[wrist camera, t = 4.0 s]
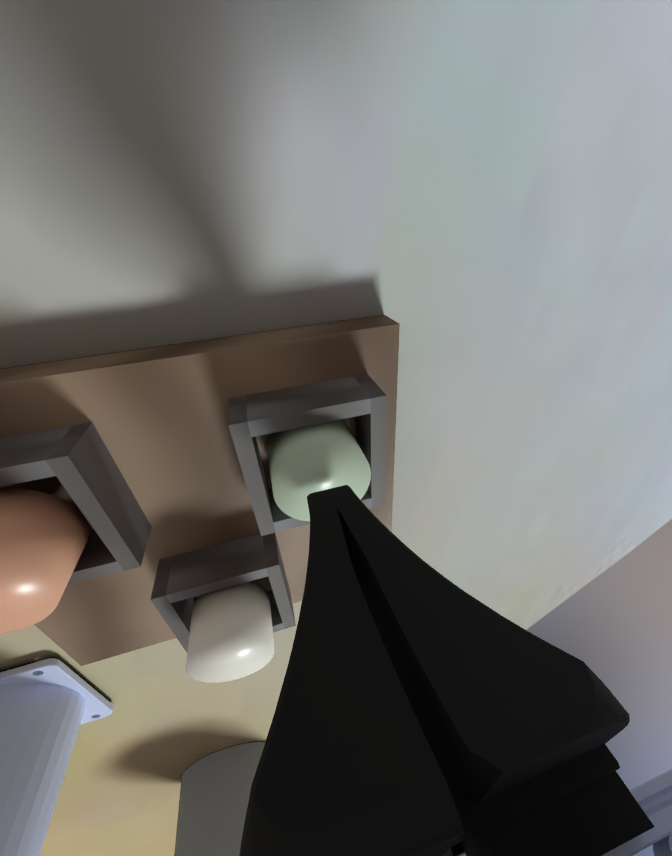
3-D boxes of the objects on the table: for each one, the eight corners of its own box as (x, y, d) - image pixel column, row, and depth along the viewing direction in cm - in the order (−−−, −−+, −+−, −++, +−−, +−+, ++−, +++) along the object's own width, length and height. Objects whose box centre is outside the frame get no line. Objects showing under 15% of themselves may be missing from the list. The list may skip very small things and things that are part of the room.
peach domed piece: (-4, 576, 11) (-53, 648, 10) (-82, 504, 10) (-163, 576, 8) (107, 549, 12) (83, 612, 10) (56, 477, 10) (13, 537, 8)
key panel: (91, 637, 19) (65, 710, 16) (-153, 390, 10) (-304, 455, 7) (381, 555, 22) (402, 604, 19) (384, 314, 13) (424, 339, 11)
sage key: (275, 488, 14) (281, 531, 12) (259, 419, 12) (263, 456, 10) (353, 471, 15) (371, 508, 13) (350, 402, 13) (370, 433, 11)
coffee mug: (159, 783, 33) (134, 970, 24) (238, 736, 32) (239, 914, 23) (246, 786, 40) (249, 930, 32) (312, 749, 39) (333, 887, 31)
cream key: (204, 635, 16) (200, 691, 14) (181, 596, 14) (173, 654, 13) (275, 614, 17) (280, 664, 15) (262, 574, 15) (266, 626, 13)
